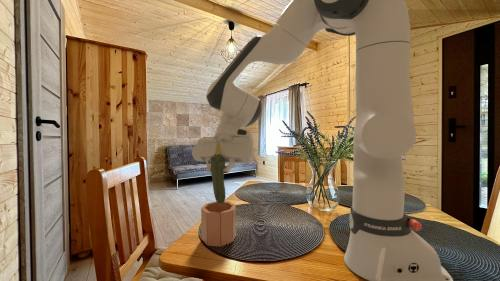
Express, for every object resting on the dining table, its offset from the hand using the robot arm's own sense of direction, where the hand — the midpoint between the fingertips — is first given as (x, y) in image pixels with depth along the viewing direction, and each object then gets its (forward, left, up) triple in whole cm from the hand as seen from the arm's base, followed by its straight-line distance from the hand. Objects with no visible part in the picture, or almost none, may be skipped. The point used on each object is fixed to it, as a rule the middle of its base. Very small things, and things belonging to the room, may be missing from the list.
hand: (217, 172), depth 71 cm
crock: (0, -1, -21) cm, 21 cm away
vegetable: (0, -1, -11) cm, 11 cm away
